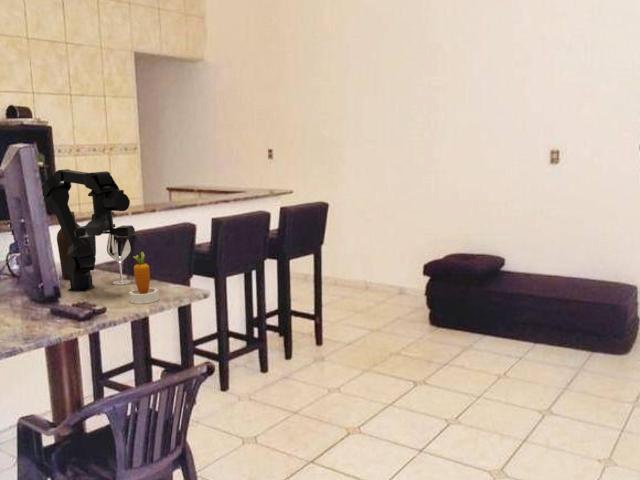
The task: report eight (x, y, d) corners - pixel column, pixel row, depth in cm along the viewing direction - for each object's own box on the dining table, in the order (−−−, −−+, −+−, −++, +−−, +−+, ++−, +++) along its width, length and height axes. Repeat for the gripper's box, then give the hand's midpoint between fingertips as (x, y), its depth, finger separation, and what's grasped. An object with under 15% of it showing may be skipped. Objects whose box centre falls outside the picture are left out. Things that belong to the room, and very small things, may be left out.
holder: (125, 303, 196) (124, 294, 196) (137, 296, 205) (136, 287, 204) (151, 304, 195) (151, 295, 194) (163, 296, 203) (162, 287, 203)
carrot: (141, 301, 196) (138, 255, 194) (132, 298, 199) (129, 253, 197) (155, 297, 200) (151, 252, 197) (146, 295, 203) (142, 250, 201)
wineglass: (126, 285, 219) (122, 235, 216) (105, 285, 221) (100, 235, 218) (137, 280, 227) (133, 231, 224) (117, 279, 229) (113, 231, 226)
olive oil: (69, 282, 227) (62, 214, 223) (55, 278, 234) (48, 212, 230) (96, 276, 235) (90, 211, 230) (82, 272, 242) (76, 209, 237)
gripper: (62, 213, 197) (67, 261, 199) (117, 213, 194) (122, 261, 196) (81, 209, 207) (86, 254, 210) (133, 208, 204) (137, 254, 207)
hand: (107, 256), depth 206 cm, fingers open, 9 cm apart
